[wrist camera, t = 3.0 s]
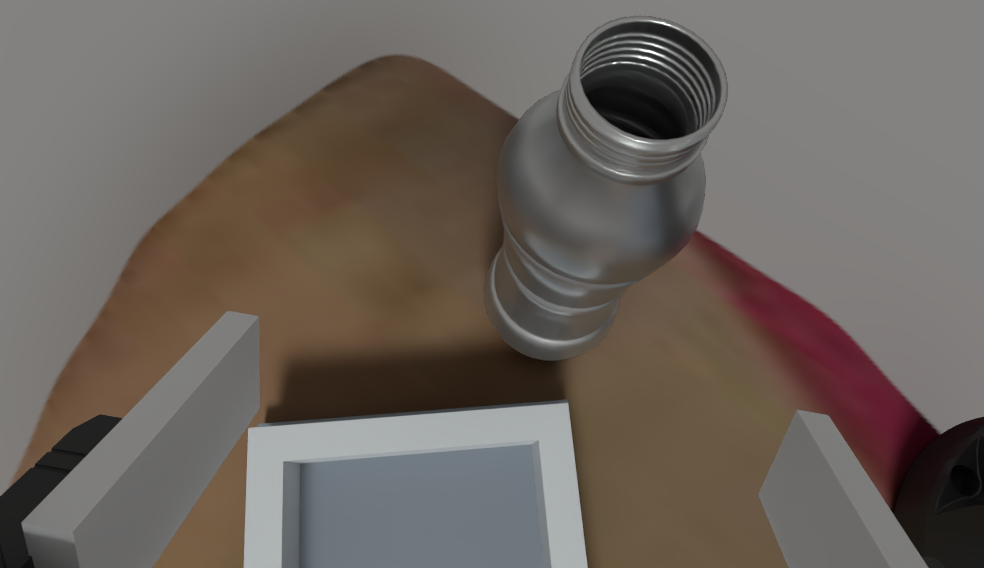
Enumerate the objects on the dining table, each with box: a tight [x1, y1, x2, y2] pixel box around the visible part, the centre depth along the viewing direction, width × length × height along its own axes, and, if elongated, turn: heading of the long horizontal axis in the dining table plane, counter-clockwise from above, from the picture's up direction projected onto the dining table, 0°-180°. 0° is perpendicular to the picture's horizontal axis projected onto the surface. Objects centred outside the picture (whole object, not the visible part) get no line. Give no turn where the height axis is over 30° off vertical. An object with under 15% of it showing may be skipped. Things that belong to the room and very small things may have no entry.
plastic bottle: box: [484, 16, 728, 361], centre depth 24 cm, size 6×7×20 cm
